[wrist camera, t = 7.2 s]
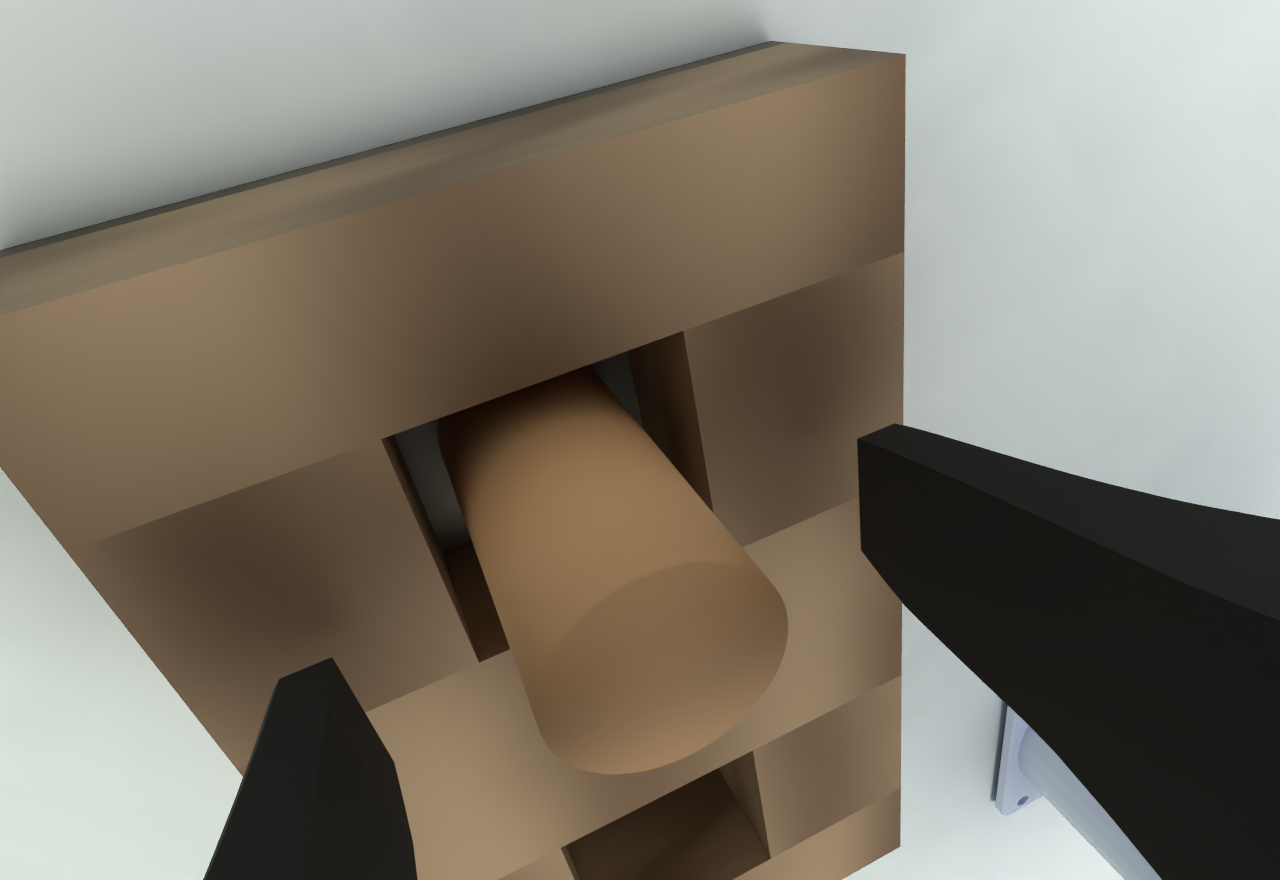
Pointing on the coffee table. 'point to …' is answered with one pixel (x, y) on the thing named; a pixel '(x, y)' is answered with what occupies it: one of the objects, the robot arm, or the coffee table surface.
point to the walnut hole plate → (478, 372)
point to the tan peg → (609, 577)
